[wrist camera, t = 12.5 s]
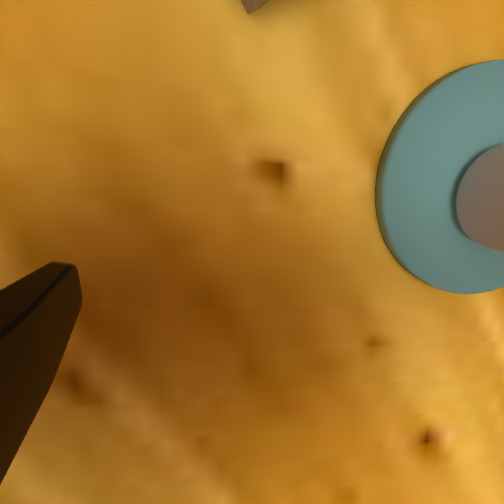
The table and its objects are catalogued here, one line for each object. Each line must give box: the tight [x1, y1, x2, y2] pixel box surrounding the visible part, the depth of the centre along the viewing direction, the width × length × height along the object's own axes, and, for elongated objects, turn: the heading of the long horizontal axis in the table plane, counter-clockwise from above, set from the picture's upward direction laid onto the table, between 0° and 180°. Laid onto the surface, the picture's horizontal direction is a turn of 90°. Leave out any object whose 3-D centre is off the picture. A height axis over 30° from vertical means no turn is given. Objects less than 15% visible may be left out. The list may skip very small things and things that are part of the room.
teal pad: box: [375, 60, 504, 294], centre depth 21 cm, size 11×11×1 cm
